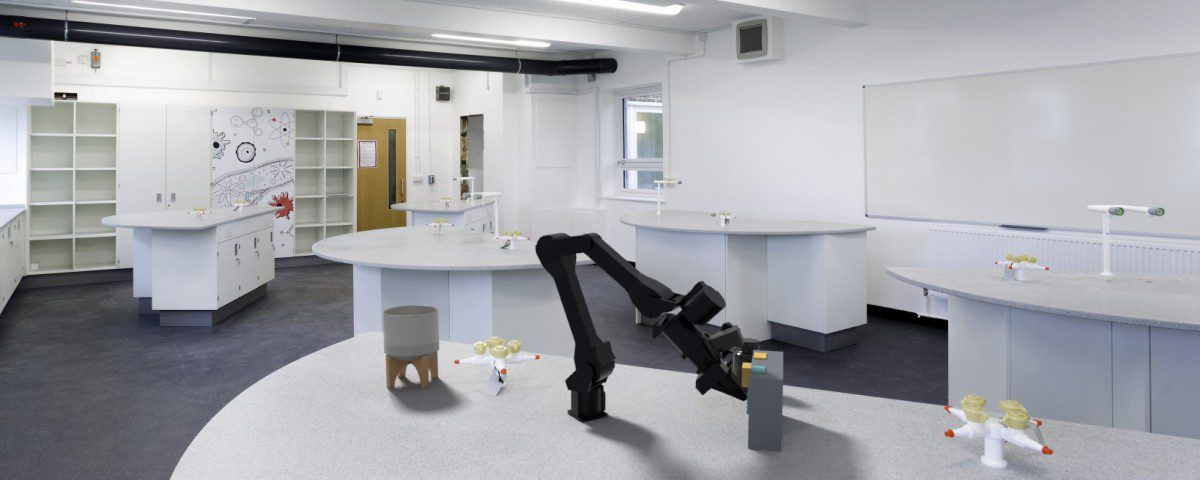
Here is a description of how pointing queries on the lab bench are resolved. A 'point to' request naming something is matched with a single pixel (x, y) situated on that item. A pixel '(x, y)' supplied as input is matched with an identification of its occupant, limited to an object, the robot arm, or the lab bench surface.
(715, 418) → the lab bench surface
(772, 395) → the button panel
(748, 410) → the teal button
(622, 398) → the lab bench surface
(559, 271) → the robot arm
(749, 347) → the supplement bottle
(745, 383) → the amber button
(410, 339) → the planter
